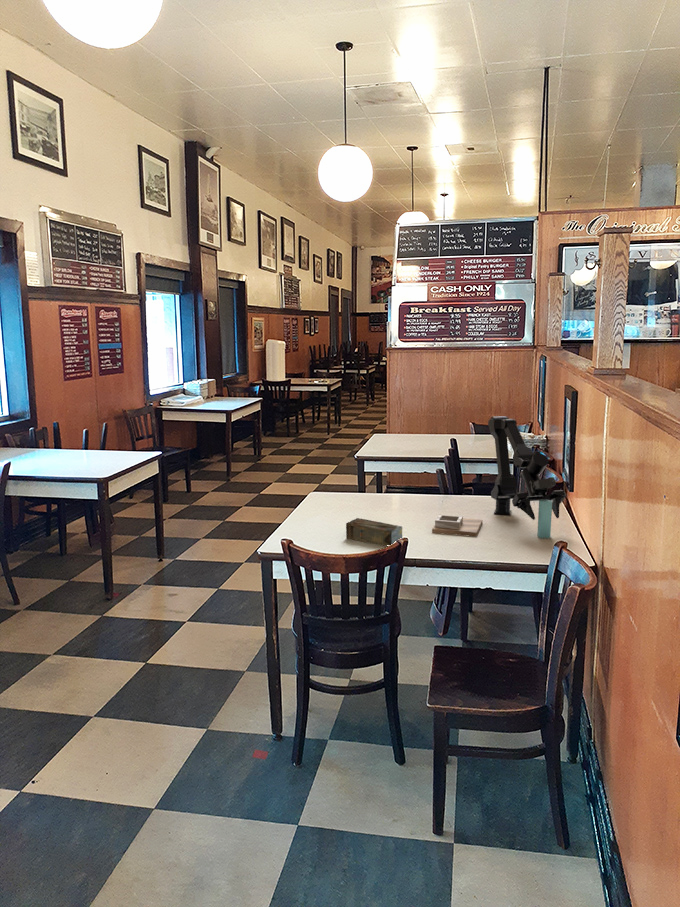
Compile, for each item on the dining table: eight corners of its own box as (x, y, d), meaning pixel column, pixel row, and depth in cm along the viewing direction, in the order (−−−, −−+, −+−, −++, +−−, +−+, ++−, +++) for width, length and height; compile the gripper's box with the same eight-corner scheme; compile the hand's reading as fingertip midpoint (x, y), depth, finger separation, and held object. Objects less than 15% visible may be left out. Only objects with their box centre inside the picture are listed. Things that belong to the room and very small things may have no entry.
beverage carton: (391, 548, 238) (391, 529, 237) (344, 539, 248) (344, 521, 247) (403, 542, 244) (403, 524, 243) (356, 534, 255) (356, 516, 254)
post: (537, 534, 252) (539, 499, 250) (550, 535, 251) (552, 500, 249) (537, 537, 248) (538, 502, 246) (550, 539, 247) (552, 503, 245)
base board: (440, 520, 272) (440, 510, 271) (482, 523, 267) (482, 513, 266) (432, 532, 255) (432, 522, 254) (476, 536, 250) (476, 525, 249)
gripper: (516, 470, 248) (530, 508, 239) (564, 468, 252) (579, 505, 243) (506, 487, 257) (518, 524, 248) (552, 485, 261) (566, 521, 252)
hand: (546, 518), depth 247 cm, fingers open, 9 cm apart
